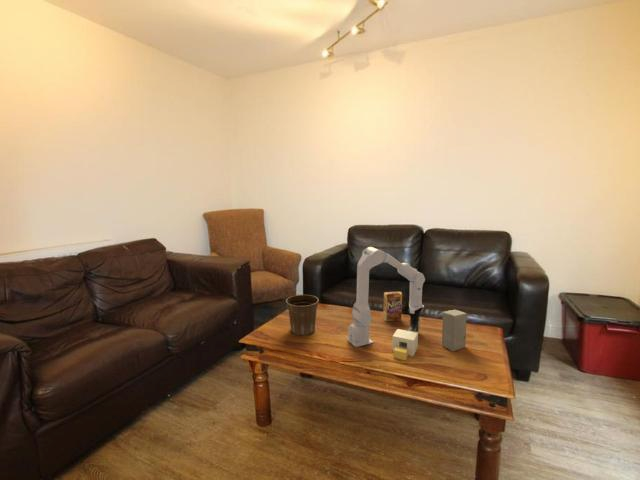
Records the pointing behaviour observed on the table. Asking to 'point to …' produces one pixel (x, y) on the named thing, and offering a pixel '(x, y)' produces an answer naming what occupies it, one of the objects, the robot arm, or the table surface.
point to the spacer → (400, 353)
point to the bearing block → (405, 341)
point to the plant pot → (302, 313)
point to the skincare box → (454, 329)
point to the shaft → (413, 328)
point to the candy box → (392, 306)
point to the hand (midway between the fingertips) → (414, 322)
